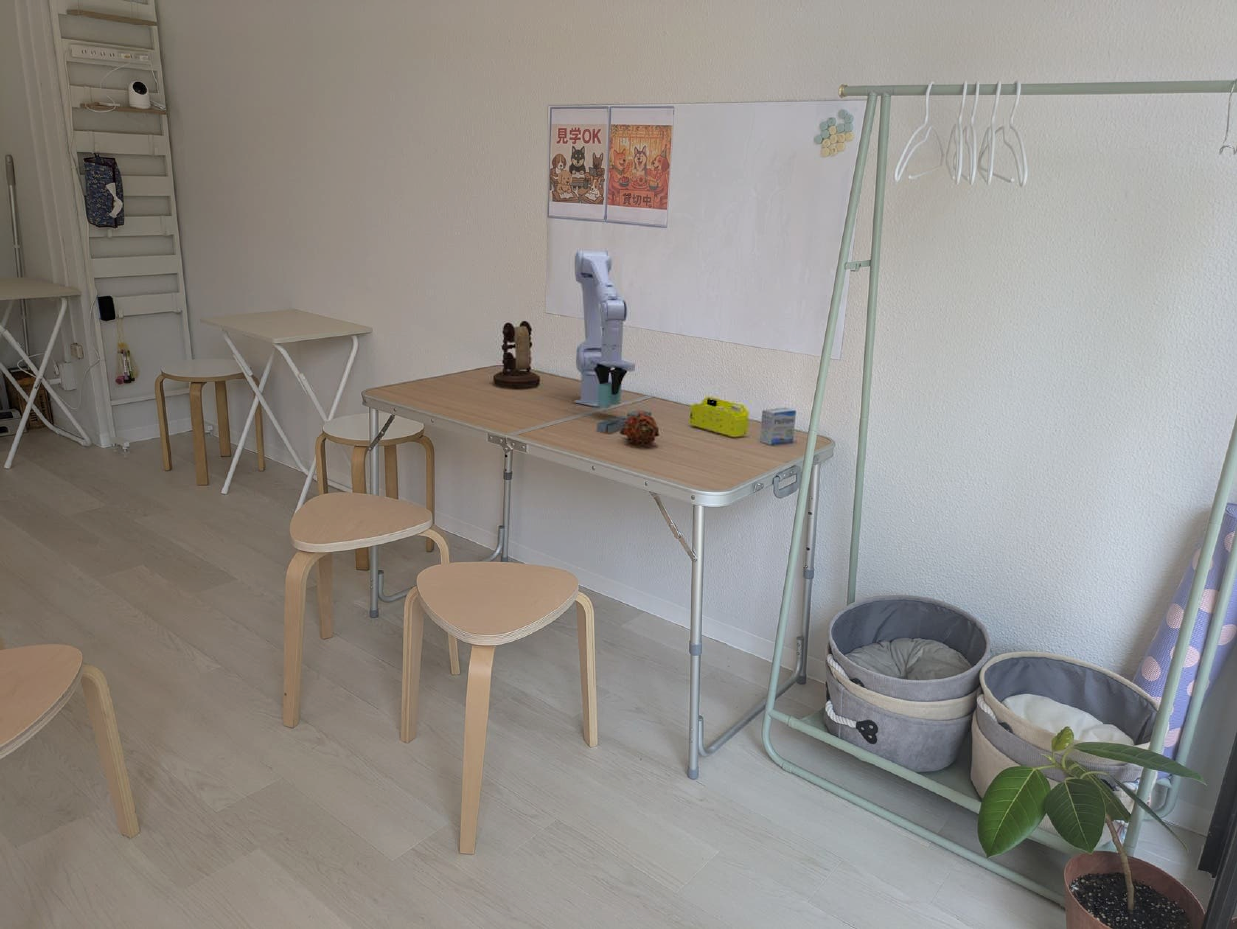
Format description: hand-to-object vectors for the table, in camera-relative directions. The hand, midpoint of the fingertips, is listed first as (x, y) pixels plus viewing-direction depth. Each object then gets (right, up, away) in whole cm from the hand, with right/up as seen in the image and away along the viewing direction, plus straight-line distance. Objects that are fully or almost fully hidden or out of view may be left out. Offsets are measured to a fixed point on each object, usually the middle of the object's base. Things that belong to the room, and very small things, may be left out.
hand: (609, 392), depth 254 cm
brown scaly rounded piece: (+8, -15, -21) cm, 27 cm away
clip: (0, -3, +1) cm, 3 cm away
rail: (+4, -9, -5) cm, 11 cm away
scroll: (-30, +5, +37) cm, 48 cm away
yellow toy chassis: (+29, -11, -7) cm, 32 cm away
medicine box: (+44, -14, -15) cm, 48 cm away
